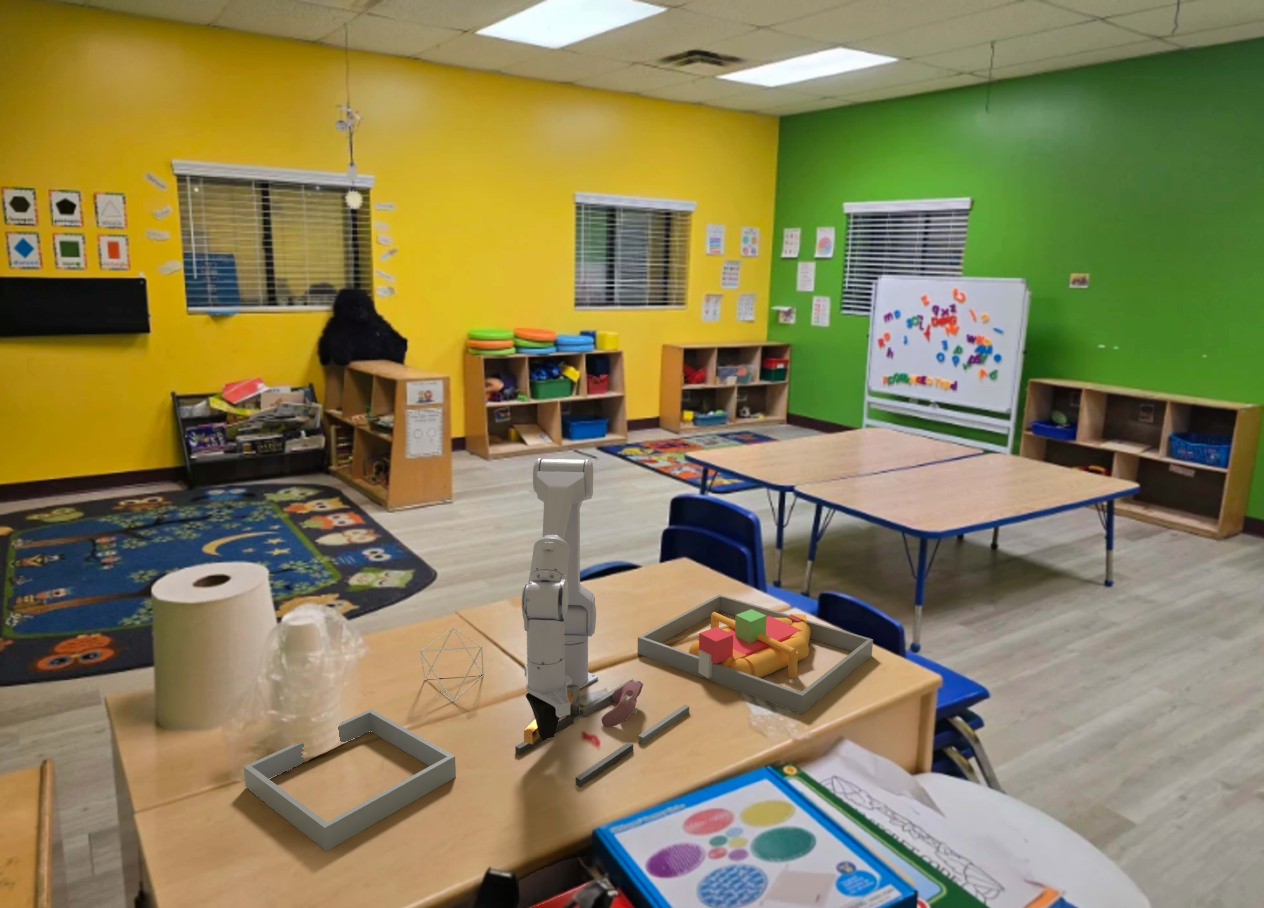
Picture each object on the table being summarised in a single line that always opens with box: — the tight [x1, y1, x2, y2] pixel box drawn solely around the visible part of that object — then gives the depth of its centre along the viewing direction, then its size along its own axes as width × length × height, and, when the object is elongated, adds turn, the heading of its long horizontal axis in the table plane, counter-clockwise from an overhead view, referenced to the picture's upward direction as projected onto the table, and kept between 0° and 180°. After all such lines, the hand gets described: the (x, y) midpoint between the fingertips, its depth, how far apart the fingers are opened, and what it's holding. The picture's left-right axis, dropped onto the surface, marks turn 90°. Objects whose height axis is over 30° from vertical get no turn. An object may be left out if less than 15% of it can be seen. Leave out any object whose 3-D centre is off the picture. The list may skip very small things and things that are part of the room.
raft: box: [688, 609, 811, 679], centre depth 167 cm, size 23×30×9 cm
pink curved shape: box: [601, 678, 644, 728], centre depth 145 cm, size 10×5×7 cm, turn 169°
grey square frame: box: [243, 708, 457, 852], centre depth 125 cm, size 22×22×4 cm
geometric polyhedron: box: [419, 626, 485, 703], centre depth 154 cm, size 12×11×9 cm
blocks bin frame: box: [637, 594, 874, 715], centre depth 168 cm, size 37×30×4 cm
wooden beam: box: [523, 684, 580, 744], centre depth 137 cm, size 16×2×5 cm, turn 157°
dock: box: [514, 681, 690, 788], centre depth 140 cm, size 14×28×1 cm, turn 141°
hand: (547, 736), depth 131 cm, fingers closed
